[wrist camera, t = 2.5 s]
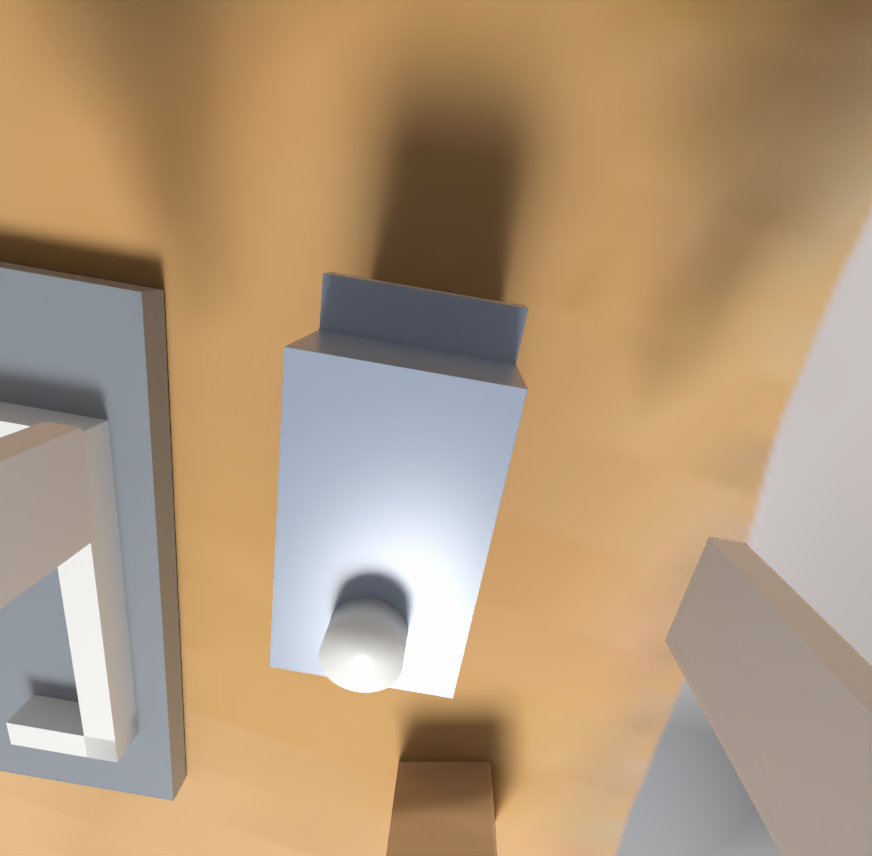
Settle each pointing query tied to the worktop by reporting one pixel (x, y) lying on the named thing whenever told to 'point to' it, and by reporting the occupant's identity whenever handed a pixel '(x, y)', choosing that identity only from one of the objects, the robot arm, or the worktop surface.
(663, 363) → the worktop surface
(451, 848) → the oak block
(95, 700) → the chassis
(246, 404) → the worktop surface
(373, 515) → the servo block
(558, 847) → the worktop surface
